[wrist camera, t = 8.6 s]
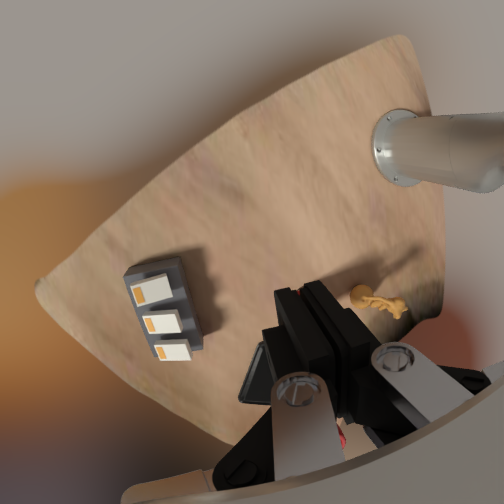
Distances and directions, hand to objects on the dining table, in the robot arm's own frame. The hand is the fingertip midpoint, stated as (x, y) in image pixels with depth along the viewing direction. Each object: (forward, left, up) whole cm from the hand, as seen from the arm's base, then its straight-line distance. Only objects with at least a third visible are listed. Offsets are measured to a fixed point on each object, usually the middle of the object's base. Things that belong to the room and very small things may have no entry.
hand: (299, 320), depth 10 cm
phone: (0, +32, -32) cm, 45 cm away
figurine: (-18, +18, -31) cm, 40 cm away
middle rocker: (+13, +13, -27) cm, 33 cm away
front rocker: (+13, +9, -27) cm, 31 cm away
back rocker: (+13, +18, -27) cm, 35 cm away
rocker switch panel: (+13, +14, -31) cm, 36 cm away
